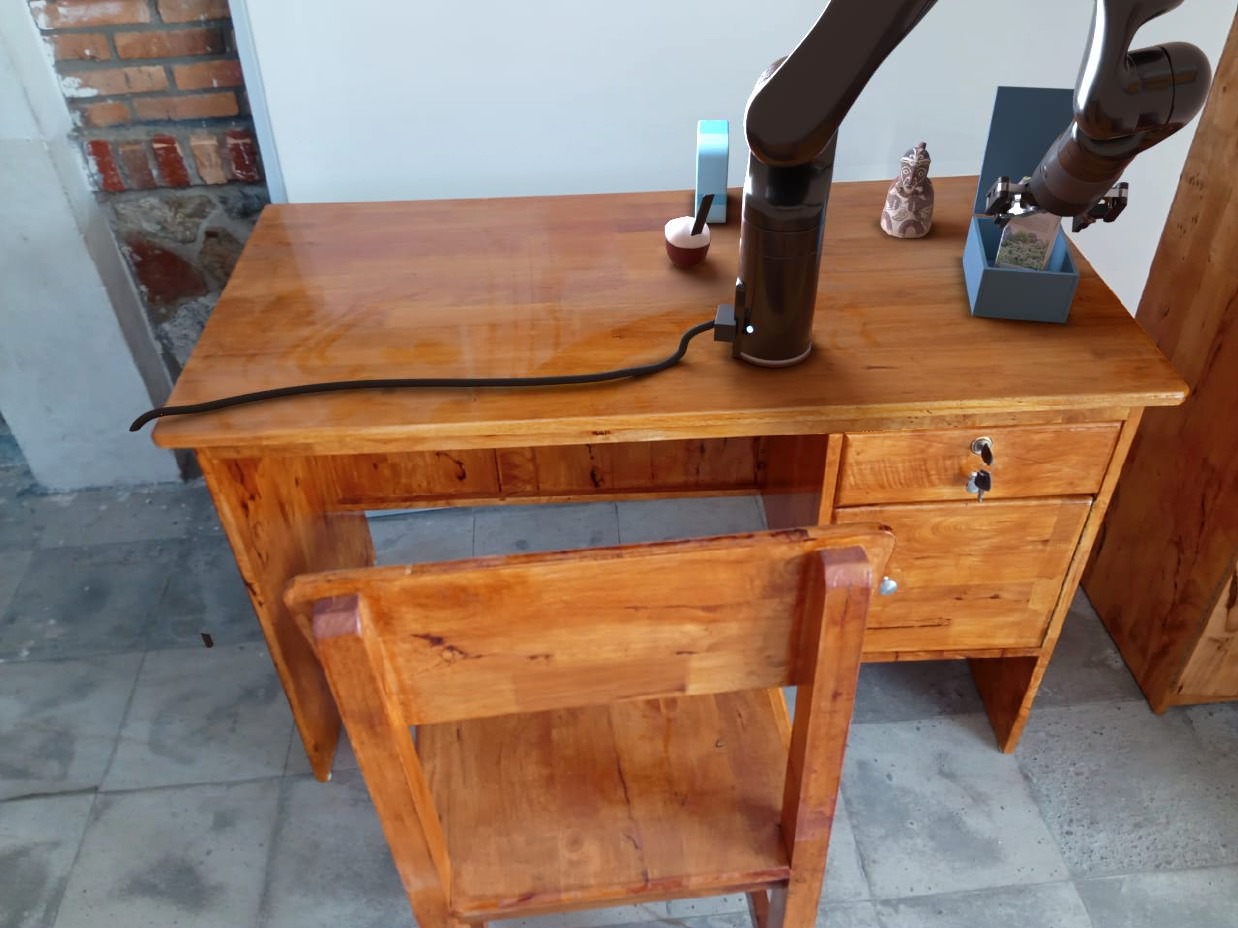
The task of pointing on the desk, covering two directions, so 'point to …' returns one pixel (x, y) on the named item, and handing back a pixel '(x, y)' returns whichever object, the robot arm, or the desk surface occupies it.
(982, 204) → the lunchbox lid
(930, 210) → the figurine
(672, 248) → the ice cream cup
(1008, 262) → the syrup box
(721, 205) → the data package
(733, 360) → the desk surface
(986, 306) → the box
